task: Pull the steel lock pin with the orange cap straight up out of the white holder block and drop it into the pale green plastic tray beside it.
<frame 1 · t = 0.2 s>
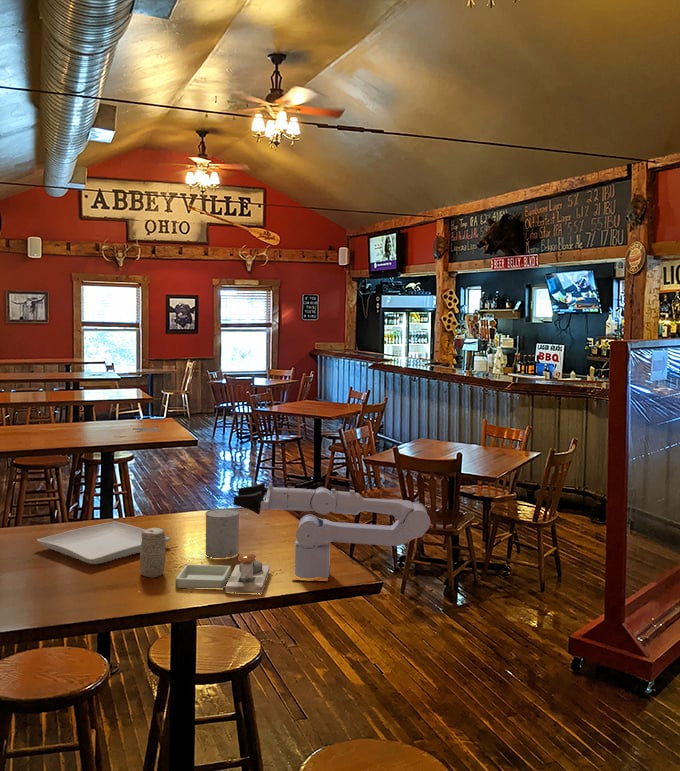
hand: (236, 496, 193), 21 cm above the table, tool horizontal, fingers open, 7 cm apart
lock pin: (246, 587, 186), resting in white holder block
grey cylinder: (222, 555, 212), on the table
white holder block: (248, 583, 189), on the table
square plate: (104, 550, 214), on the table
tray: (204, 581, 190), on the table
carving: (152, 575, 194), on the table
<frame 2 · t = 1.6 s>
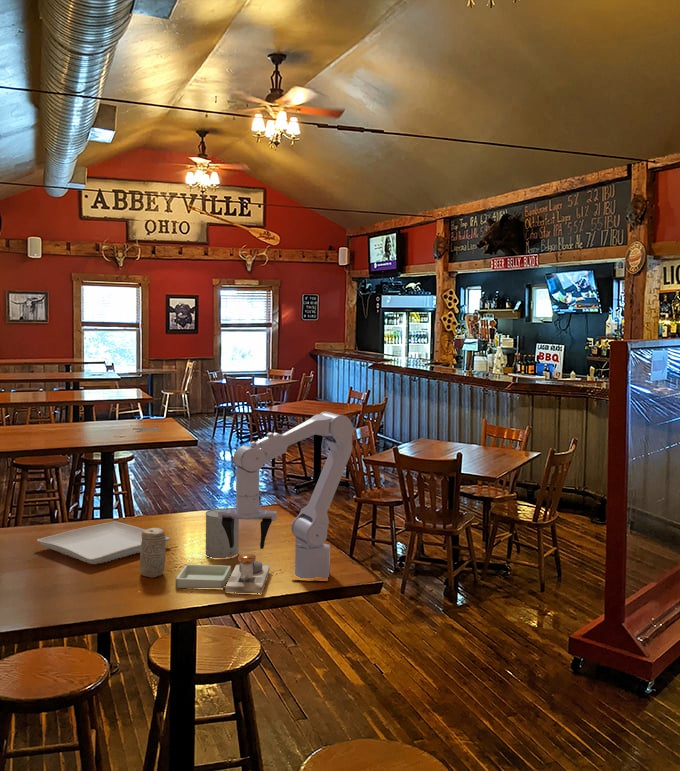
hand: (247, 547, 185), 10 cm above the table, tool pointing down, fingers open, 7 cm apart
nothing on the table moved.
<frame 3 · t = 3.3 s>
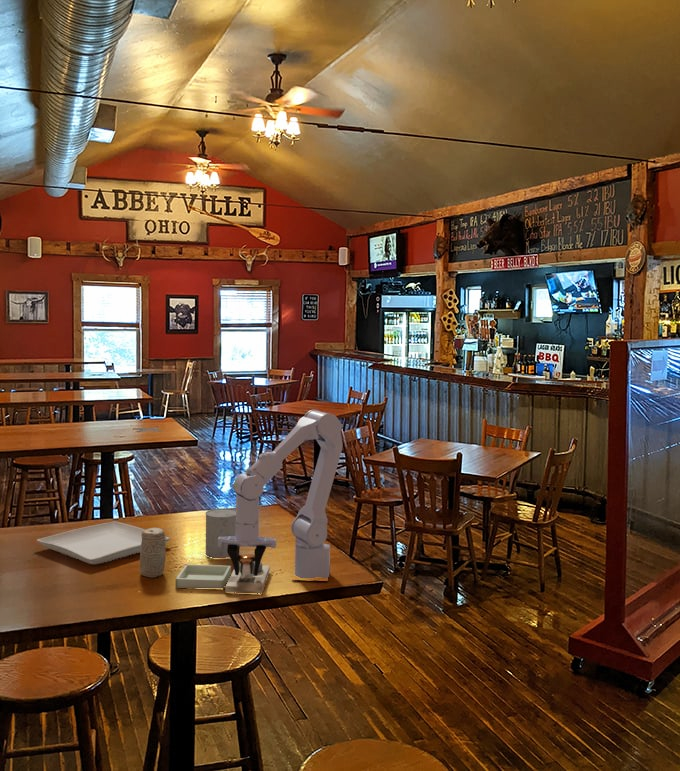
hand: (246, 574, 186), 3 cm above the table, tool pointing down, fingers closed on lock pin, 4 cm apart
lock pin: (246, 587, 186), resting in white holder block, touching gripper
everything else where it was.
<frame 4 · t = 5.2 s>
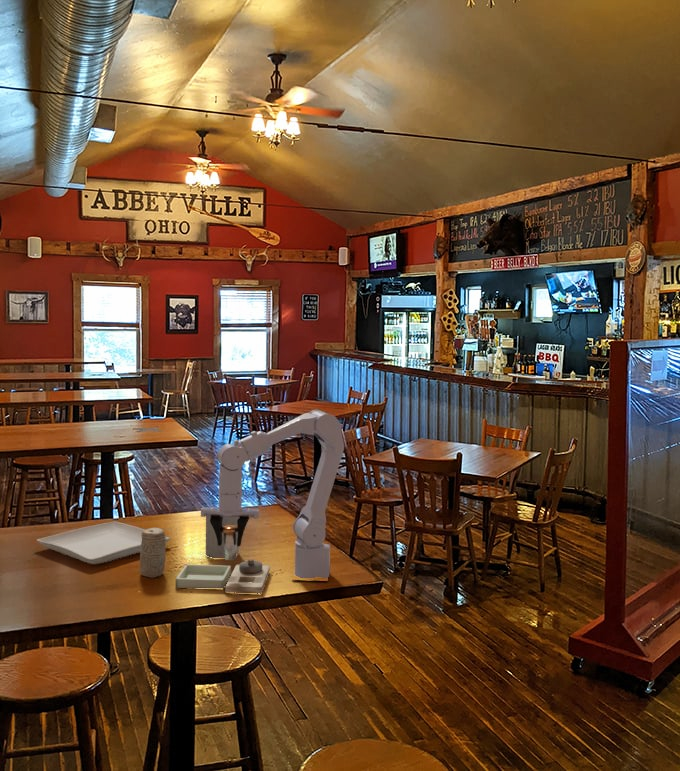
hand: (229, 544, 187), 11 cm above the table, tool pointing down, fingers closed on lock pin, 4 cm apart
lock pin: (230, 558, 187), point 7 cm above the table, touching gripper
everything else where it was.
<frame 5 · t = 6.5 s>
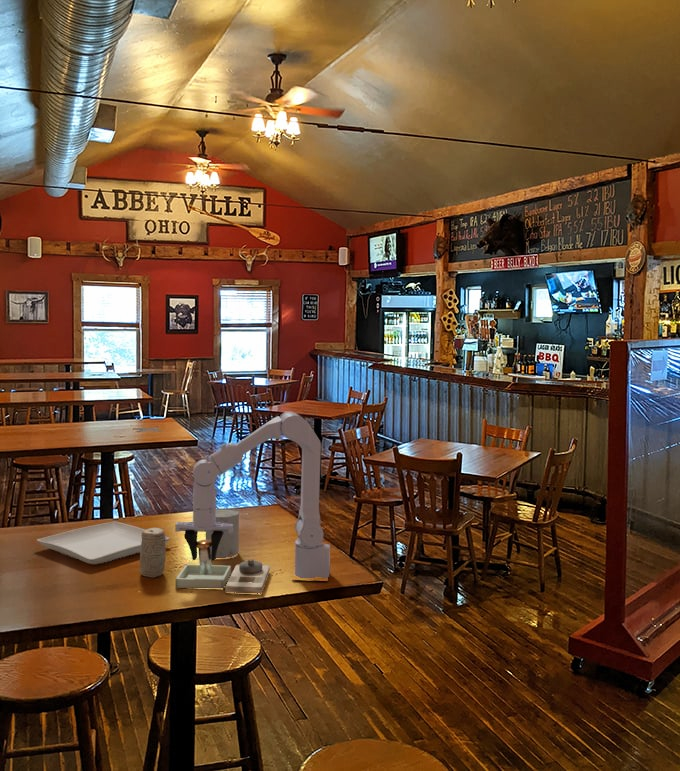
hand: (204, 559, 189), 6 cm above the table, tool pointing down, fingers closed on lock pin, 4 cm apart
lock pin: (206, 572, 189), point 2 cm above the table, touching gripper
everything else where it was.
when the fingers open (6 cm above the table, at t = 7.3 s): lock pin drops 2 cm, resting on tray.
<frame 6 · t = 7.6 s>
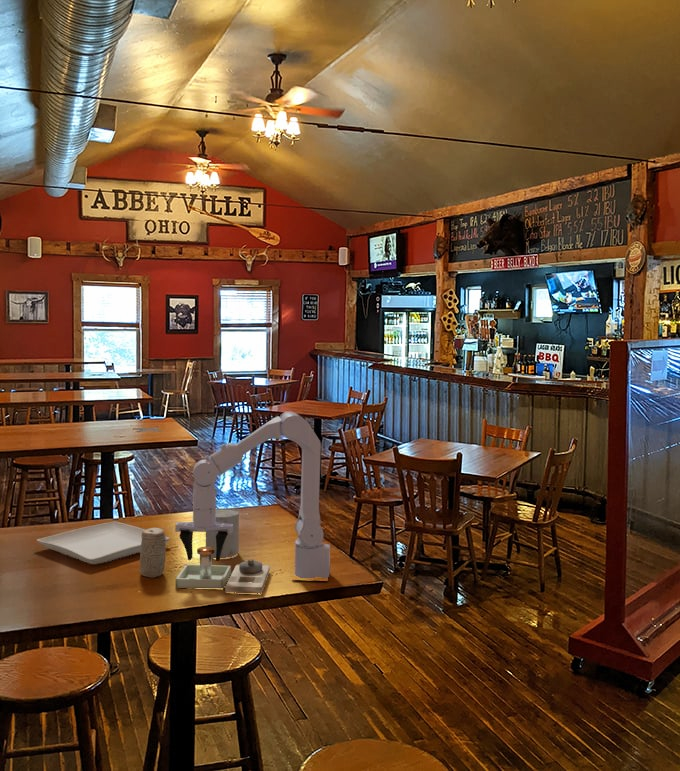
hand: (204, 559, 189), 6 cm above the table, tool pointing down, fingers open, 7 cm apart
lock pin: (205, 579, 189), point 1 cm above the table, touching tray
everything else where it was.
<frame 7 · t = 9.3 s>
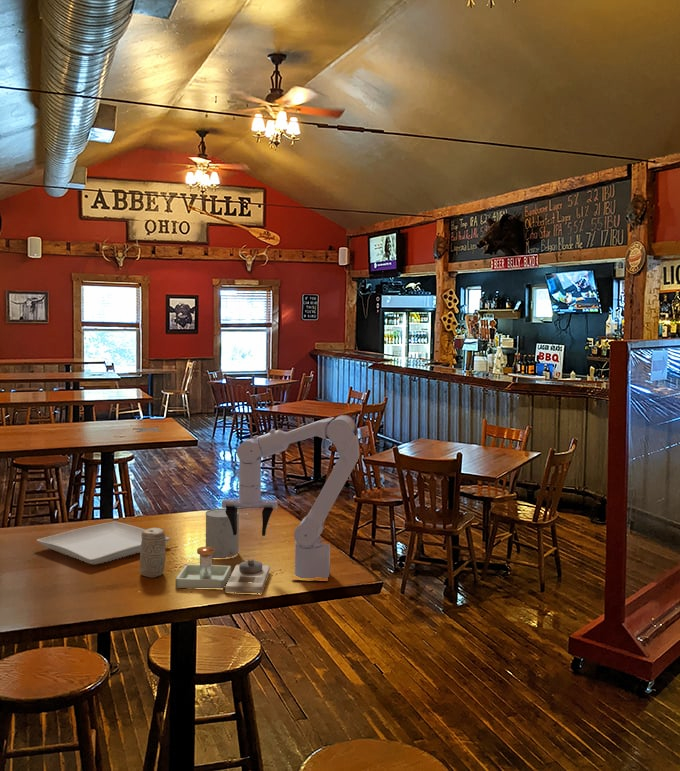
hand: (249, 534, 196), 10 cm above the table, tool pointing down, fingers open, 7 cm apart
nothing on the table moved.
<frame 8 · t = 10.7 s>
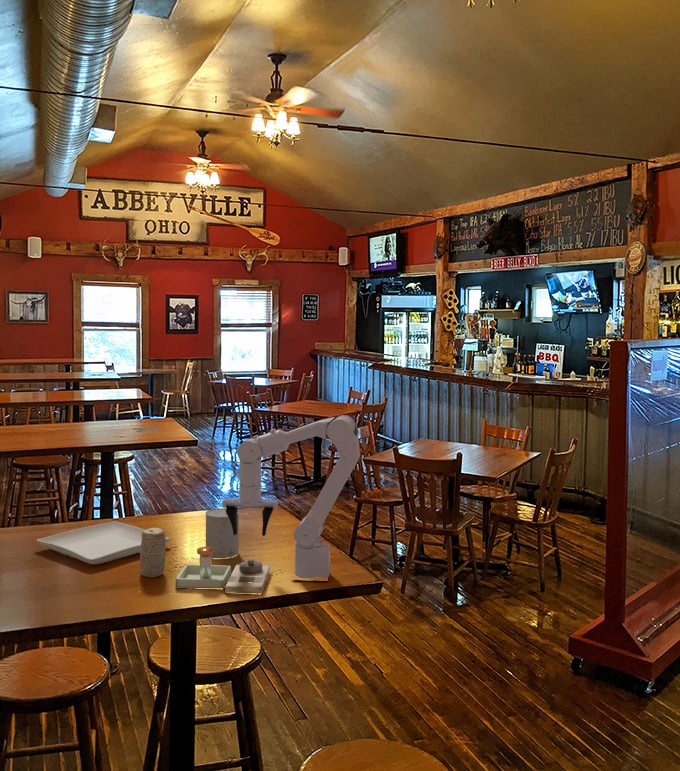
hand: (249, 534, 196), 10 cm above the table, tool pointing down, fingers open, 7 cm apart
nothing on the table moved.
at the end: lock pin inside the target area on the tray (0.4 cm from its centre), point 0.6 cm above the tray's base; the gripper is holding nothing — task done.
